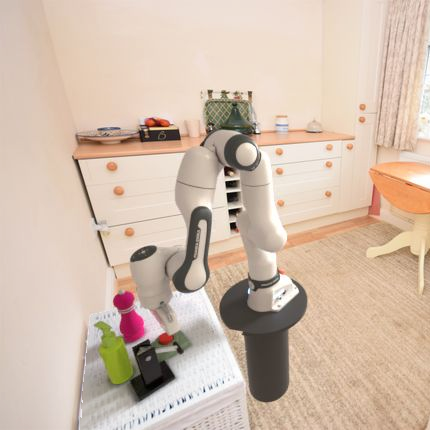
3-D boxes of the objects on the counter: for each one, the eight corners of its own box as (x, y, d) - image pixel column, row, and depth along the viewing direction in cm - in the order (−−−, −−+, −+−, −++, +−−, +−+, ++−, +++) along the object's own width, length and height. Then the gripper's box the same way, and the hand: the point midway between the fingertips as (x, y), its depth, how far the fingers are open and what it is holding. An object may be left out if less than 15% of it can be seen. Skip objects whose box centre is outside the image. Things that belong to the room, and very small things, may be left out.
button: (170, 333, 100) (169, 329, 99) (175, 340, 98) (174, 336, 97) (157, 340, 97) (156, 336, 97) (162, 347, 95) (161, 343, 94)
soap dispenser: (123, 362, 93) (107, 314, 85) (137, 371, 91) (121, 323, 82) (104, 377, 88) (84, 328, 80) (118, 387, 86) (99, 337, 77)
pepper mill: (151, 329, 106) (138, 284, 98) (136, 344, 100) (121, 298, 91) (133, 325, 107) (120, 281, 99) (117, 341, 101) (101, 295, 92)
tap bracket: (165, 362, 94) (156, 330, 88) (175, 378, 89) (167, 345, 83) (130, 383, 87) (118, 350, 81) (139, 401, 82) (127, 367, 77)
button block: (179, 332, 105) (177, 324, 103) (189, 345, 100) (187, 336, 99) (146, 350, 98) (144, 342, 96) (155, 365, 93) (153, 356, 91)
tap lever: (175, 346, 93) (178, 339, 93) (182, 355, 90) (185, 348, 90) (134, 351, 84) (138, 344, 84) (141, 362, 81) (144, 354, 80)
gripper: (180, 306, 86) (189, 340, 92) (154, 276, 98) (163, 308, 104) (158, 318, 81) (168, 352, 87) (133, 285, 94) (144, 317, 100)
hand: (165, 328), depth 96 cm, fingers closed
